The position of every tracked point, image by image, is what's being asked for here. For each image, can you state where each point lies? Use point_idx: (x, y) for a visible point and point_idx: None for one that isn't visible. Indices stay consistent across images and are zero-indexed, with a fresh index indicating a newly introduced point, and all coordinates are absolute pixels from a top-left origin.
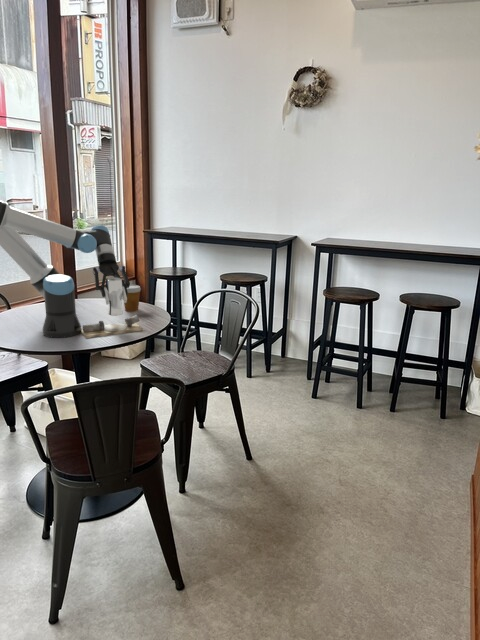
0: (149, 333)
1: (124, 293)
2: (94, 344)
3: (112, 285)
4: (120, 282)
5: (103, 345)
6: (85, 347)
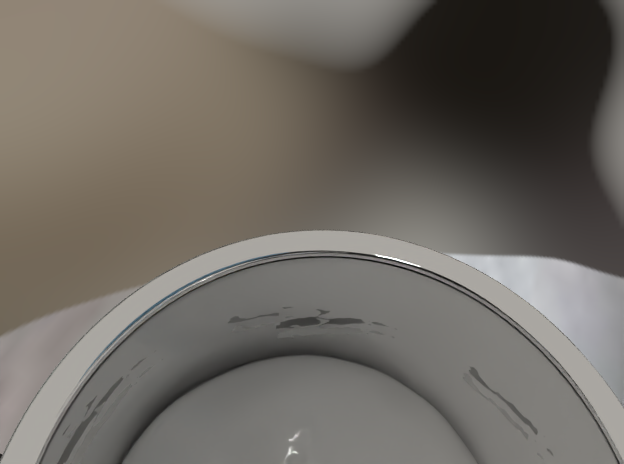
0: (88, 307)
1: None
2: (541, 307)
3: (449, 332)
4: (208, 291)
5: (490, 257)
6: (604, 286)
